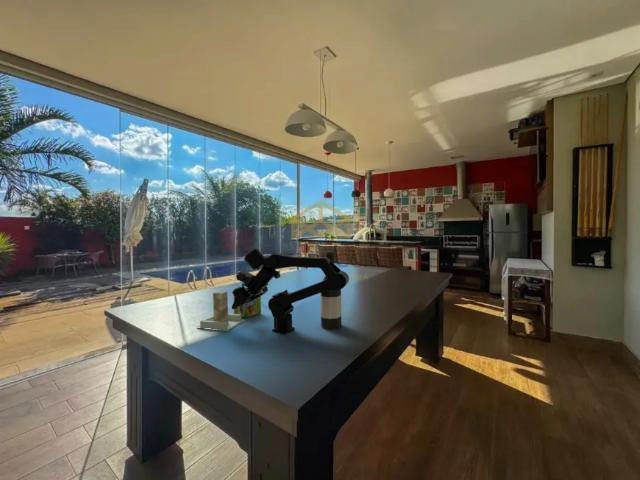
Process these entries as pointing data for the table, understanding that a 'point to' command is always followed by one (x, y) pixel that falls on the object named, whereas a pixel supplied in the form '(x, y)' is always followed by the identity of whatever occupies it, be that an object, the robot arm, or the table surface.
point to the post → (220, 306)
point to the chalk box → (249, 307)
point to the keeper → (232, 322)
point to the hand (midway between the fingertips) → (239, 305)
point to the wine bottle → (331, 304)
